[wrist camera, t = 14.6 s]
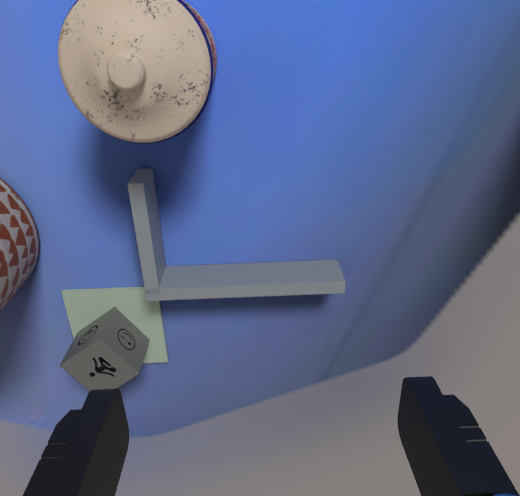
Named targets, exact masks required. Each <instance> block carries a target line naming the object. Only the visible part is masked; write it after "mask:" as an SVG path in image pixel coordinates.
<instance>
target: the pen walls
mask: <svg viewBox="0 0 520 496" xmlns="http://www.w3.org/2000/svg"><path fill="white" fill-rule="evenodd" d="M127 185H128V191H129V197H130V203H131V209H132V215H133V221H134V227H135V233H136V239H137V245H138V251H139V257H140V263H141V269H142V275H143V281H144V288H145V294H146V300H147V301H160V300H185V299H210V298H235V297H261V296H286V295H311V294H336V293H345V279H344V276H343V274H342V271H341V268H340V266H339V263H338V260H314V261H288V262H263V263H237V264H212V265H186V266H166V261H165V254H164V247H163V239H162V232H161V225H160V218H159V210H158V203H157V196H156V189H155V181H154V174H153V168H146V169H138V170H137V171H136V173H135V174H134V175H133V177H132V178H131V180H130V181H129V182H128V184H127Z"/></svg>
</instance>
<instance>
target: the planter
mask: <svg viewBox="0 0 520 496" xmlns="http://www.w3.org/2000/svg"><path fill="white" fill-rule="evenodd" d="M38 254H39V237H38V232H37V228H36V225H35V222H34V219H33V217H32V215H31V213H30V211H29V209H28V208H27V206H26V204H25V203H24V202H23V200H22V199H21V198H20V196H19V195H18V194H17V193H16V192H15V191H14V190H13V189H12V188H11V187H10V186H9V185H8V184H7V183H6V182H4V181H3V180H2V179H0V310H1V309H2V308H3V307H4V306H5V304H6V303H7V302H8V301H9V300H10V299H11V297H12V296H13V295H14V294H15V293H16V292H17V290H18V289H19V288H20V287H21V286H22V285H23V283H24V282H25V281H26V280H27V278H28V277H29V276H30V274H31V273H32V271H33V269H34V267H35V265H36V262H37V259H38Z"/></svg>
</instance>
